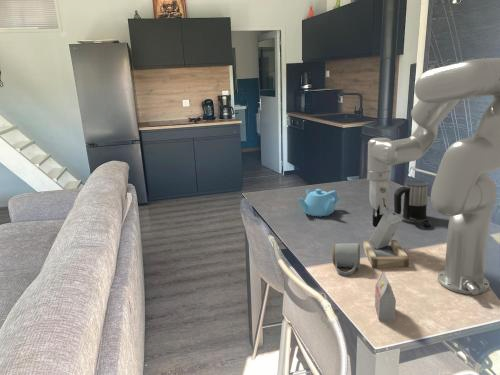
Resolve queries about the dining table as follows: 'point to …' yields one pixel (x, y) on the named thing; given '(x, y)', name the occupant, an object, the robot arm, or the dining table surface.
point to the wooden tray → (386, 256)
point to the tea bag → (384, 300)
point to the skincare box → (385, 230)
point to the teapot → (319, 202)
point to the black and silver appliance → (413, 201)
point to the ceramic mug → (346, 256)
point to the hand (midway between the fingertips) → (377, 226)
